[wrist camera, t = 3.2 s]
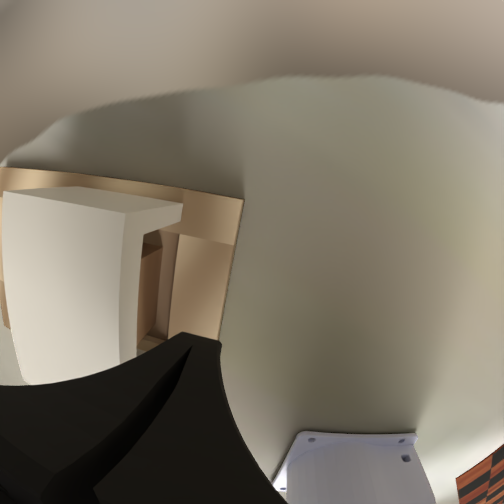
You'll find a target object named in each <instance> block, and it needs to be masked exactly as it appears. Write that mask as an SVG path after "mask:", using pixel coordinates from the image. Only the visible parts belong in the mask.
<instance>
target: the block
mask: <svg viewBox="0 0 504 504" xmlns="http://www.w3.org/2000/svg"><path fill="white" fill-rule="evenodd" d="M162 253H163V247H161V246H156V245H152V244H148V243H143V244H142V254H141V264H140V276H139V291H138V309H137V345H138V344H139V343H140V341H141V340H142V339H143V338H144V337H145V336H146V334H147V333H148V332H149V331H150V330H151V329H152V328H153V326H154V325H155V324H156V316H157V303H158V291H159V281H160V271H161V262H162ZM137 345H136V346H137Z"/></svg>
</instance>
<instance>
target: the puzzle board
mask: <svg viewBox="0 0 504 504" xmlns="http://www.w3.org/2000/svg"><path fill="white" fill-rule="evenodd" d="M74 186H79V187H86V188H93V189H100V190H106V191H112V192H119V193H125V194H131V195H137V196H143V197H149V198H155V199H160V200H166V201H172V202H177V203H183V209H182V215H181V221H180V222H177V223H175V224H172V225H169V226H166V227H163V228H160V229H157V230H155V231H152V232H149V233H146V234H144V235H143V243H148V244H152V245H156V246H161V247H163V253H162V262H161V271H160V281H159V291H158V303H157V316H156V324H155V325H154V326H153V328H152V329H151V330H150V331H149V332H148V333H147V334H146V336H145V337H144V338H143V339H142V340H141V341H140V343H139V344H138V345H137V346H136V348H137V349H140V350H143V351H146V352H147V351H149V350H150V349H152V348H154V347H156V346H158V345H159V344H161V343H163V342H164V341H166V340H168V339H170V338H171V337H173V336H175V335H176V334H178V333H180V332H182V331H183V332H187V333H191V334H195V335H199V336H203V337H207V338H211V339H215V340H219V335H220V329H221V324H222V318H223V313H224V307H225V302H226V296H227V291H228V285H229V280H230V274H231V269H232V263H233V258H234V253H235V248H236V242H237V237H238V232H239V227H240V221H241V216H242V211H243V206H244V201H245V199H240V198H234V197H229V196H224V195H218V194H213V193H207V192H202V191H196V190H190V189H184V188H178V187H172V186H166V185H160V184H153V183H147V182H140V181H133V180H126V179H119V178H111V177H104V176H96V175H88V174H79V173H70V172H61V171H51V170H40V169H29V168H16V167H0V303H1V309H2V315H3V321H4V326H6V327H7V328H9V329H10V330H11V327H10V322H9V316H8V309H7V302H6V295H5V286H4V275H3V261H2V203H3V191H9V190H21V189H35V188H52V187H74Z"/></svg>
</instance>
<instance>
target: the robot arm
mask: <svg viewBox="0 0 504 504" xmlns="http://www.w3.org/2000/svg"><path fill="white" fill-rule="evenodd" d="M221 348H222V344H221V342H220V341H219V340H215V339H211V338H207V337H203V336H199V335H195V334H191V333H187V332H183V331H182V332H180V333H178V334H176V335H175V336H173V337H171V338H170V339H168V340H166V341H164V342H163V343H161V344H159V345H158V346H156V347H154V348H152V349H150V350H149V351H147V352H145V353H143V354H141V355H139V356H137V357H135V358H133V359H131V360H128V361H126V362H124V363H122V364H120V365H117V366H115V367H112V368H110V369H107V370H104V371H101V372H98V373H95V374H91V375H88V376H84V377H80V378H76V379H71V380H66V381H61V382H56V383H49V384H40V385H25V386H3V385H0V504H436V501H435V497H434V494H433V491H432V489H431V486H430V484H429V481H428V479H427V476H426V474H425V471H424V469H423V467H422V464H421V462H420V459H419V457H418V455H417V452H416V450H415V448H414V446H413V445H414V443H415V442H416V441H417V439H418V436H417V434H416V433H406V434H337V433H322V432H310V431H303V432H300V433H298V434H297V436H296V438H295V440H294V442H293V444H292V446H291V448H290V450H289V452H288V454H287V456H286V458H285V460H284V462H283V464H282V466H281V468H280V470H279V471H278V473H277V475H276V477H275V479H274V481H273V482H272V484H271V482H270V481H269V480H268V478H267V477H266V476H265V474H264V473H263V472H262V470H261V469H260V467H259V466H258V464H257V462H256V461H255V459H254V457H253V456H252V454H251V452H250V451H249V449H248V447H247V445H246V444H245V442H244V440H243V438H242V436H241V434H240V432H239V429H238V427H237V425H236V423H235V420H234V418H233V415H232V412H231V410H230V407H229V404H228V400H227V397H226V393H225V389H224V385H223V379H222V374H221V366H220V353H221ZM278 491H286V501H285V500H284V498H283V497H282V496H281V495H280V494H279V492H278Z"/></svg>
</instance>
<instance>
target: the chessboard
mask: <svg viewBox="0 0 504 504" xmlns="http://www.w3.org/2000/svg"><path fill="white" fill-rule="evenodd" d="M456 484H457V490H458V497H459V504H503V503H504V444H503V445H502V446H501V447H500V448H498V449H497V450H496V451H495V452H493V453H492V454H491V455H489V456H488V457H487V458H485V459H484V460H483V461H481V462H480V463H478V464H477V465H476V466H474V467H473V468H471V469H470V470H468V471H467V472H465V473H464V474H462V475H461V476H459V477H457V478H456Z"/></svg>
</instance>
